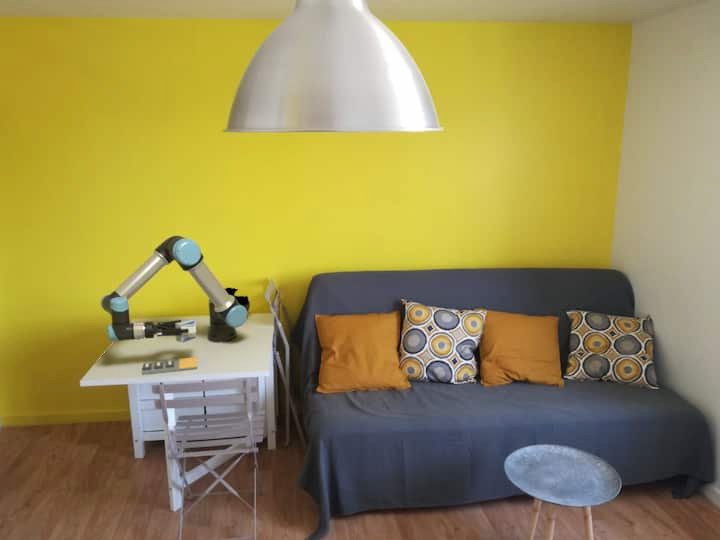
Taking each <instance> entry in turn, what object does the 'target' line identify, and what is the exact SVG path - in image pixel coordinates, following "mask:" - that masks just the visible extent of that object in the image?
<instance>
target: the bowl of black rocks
mask: <svg viewBox="0 0 720 540" xmlns="http://www.w3.org/2000/svg"><path fill="white" fill-rule="evenodd" d="M223 288H224V289H225V290H226V292H227V293H228V294H229V295H232V296H234V297H235V299H236V300H237V301H238V303H239V304H240V305H242V306H243V307H245V308H246V310H247V313H248V312H249V310H250V307H251V302H250V301H249V296H248V295H245V296H244V295H235V294H236V293H237V292H238V291H239V289H238V288H235V287H233V288H232V286H231V287H226V288H225V287H223Z"/></svg>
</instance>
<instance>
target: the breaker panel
mask: <svg viewBox="0 0 720 540" xmlns="http://www.w3.org/2000/svg"><path fill="white" fill-rule="evenodd" d="M194 370H198V360H197V356H193V357H191V356H190V357H183V358H182V357H181V358H176V359H174V358H173V359H164V360H155V361H145V362H143V364H142V370H141V371H142V372H141V375H142V374H143V375H142V376H145V375H144V374H148V375H156V374H165V373H174V372H175V373H176V372H183V371H184V372H185V371H194Z"/></svg>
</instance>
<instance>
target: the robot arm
mask: <svg viewBox="0 0 720 540" xmlns="http://www.w3.org/2000/svg"><path fill="white" fill-rule="evenodd" d="M174 261H175V262H176V264H178V266H179V267H180V268H181V269H182V271H184V272H188V273H189V274H190V277H192V278H193V280H194V281H195V282H196V284H198V286H199V287H200V288H201V290H202V291H203V293H205V295H206V296H207V297H208V312H209V328H208V331H207V340H208V341H209V340H210V341H209V342H212V341H213V342H212V343H225V342H224V341H227V342H230V341H229V340H231V341H233V340H232V339H234V338H235V339H237V337H238V332H237V330H236V328H240V327H241V326H243V325H244V324H245V323H246V322H247V321H246V320H248V319H247V318H248V312H247V310H246V308H245V307H243V306H242V305H240V304H239V303H238V301H237V300H236V299H235V297H234V296H232V295H229V294H228V293H227V292H226V290H225V289H226V288H225V287H224V286H223V285H222V284H221V283H220V281H219V280H218V278H216V276H215V274H214V273H213V272H212V271H211V269H210V268H209V267H208V265H207V264H206V263H205V261H204V255H203V253H202V249H201V248H200V245H199V244H198V243H197V242H196V241H194V240H193V239H190V238H186V237H184V236H181V235H173V236H170V237H168V238H167V239H165V240H164V241H162V242H161V244H158V246H157V247H156V248H155V249H154V250H153V254H152V255H150V257H148V258H147V259H146V260H145V261H144V262H143V263H142V264H141V265H140V266H139V267H138V268H137V269H136V270H134V271H133V272H132V273H131V275H129V276H128V277H127V278H126V279H125V280H124V281H123V282H122V283H121V284H120V285H119V286H118V287H116V289H114V290H113V291H112V292H111V293H109V294H106V295H104V296H103V297H102V298H101V300H100V306H101V308H102V309H103V311H105V312H107V313H108V314H109V315H110V316H111V324H108V325H107V330H106V331H107V339H108V340H109V341H111V342H117V341H118V342H121V341H122V342H123V341H129V340H130V341H131V340H138V341H140V340H141V339H154V338H155V335H156V337H168V336H169V337H171V336H173V337H176V336H181V333H182V334H183V333H195V334H196V333H197V323H196V322H197V320H194V321H195V326H194V327H181V328H175V323H179V322H182V320H181V319H178V320H171V321H163V322H161V321H160V322H157V324H154V322H153V321H145V322H143V321H141V322H140V321H139V322H131V321H130V308H129V307H130V305H129V300H130V299H131V298H132V297H133V296H134V295H135V294H136V293H137V292H139V290H141V288H143V287H144V286H145V285H146V284H147V283H148V282H149V281H150V280H151V279H152V278H154V276H155V275H156V274H157V273H159V271H161V270H162V268H164V267H165V266H169V265H170V264H172V262H174ZM224 288H225V289H224ZM235 339H234V340H235Z"/></svg>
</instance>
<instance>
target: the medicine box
mask: <svg viewBox="0 0 720 540" xmlns="http://www.w3.org/2000/svg"><path fill="white" fill-rule="evenodd" d="M195 321H196V320H193V319H189V318H188V319H186V320H183V321H182V320H181V322H179V323H175V328H181V327H194V326H195ZM194 339H196V332H195V333H183V334H182V333H181V336H175V340H176V342H180V343H186V342H189V341H192V340H194Z"/></svg>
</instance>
